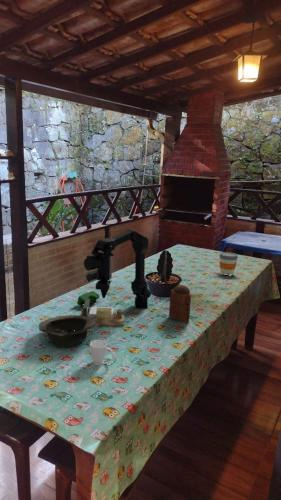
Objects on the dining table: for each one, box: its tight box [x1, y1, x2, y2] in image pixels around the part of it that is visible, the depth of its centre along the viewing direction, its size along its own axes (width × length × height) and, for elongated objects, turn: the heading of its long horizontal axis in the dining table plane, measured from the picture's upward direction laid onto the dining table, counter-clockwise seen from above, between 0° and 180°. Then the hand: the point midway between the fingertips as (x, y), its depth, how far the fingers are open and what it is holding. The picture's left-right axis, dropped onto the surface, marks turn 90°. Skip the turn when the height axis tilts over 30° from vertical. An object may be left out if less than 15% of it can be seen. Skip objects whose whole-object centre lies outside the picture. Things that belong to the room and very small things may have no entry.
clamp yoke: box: [82, 299, 91, 317], centre depth 178 cm, size 2×11×9 cm, turn 1°
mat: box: [89, 306, 115, 314], centre depth 191 cm, size 12×9×1 cm
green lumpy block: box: [76, 290, 100, 307], centre depth 199 cm, size 12×6×9 cm, turn 138°
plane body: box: [79, 309, 125, 326], centre depth 178 cm, size 22×7×6 cm, turn 91°
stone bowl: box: [38, 314, 97, 349], centre depth 161 cm, size 25×25×9 cm
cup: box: [89, 339, 115, 366], centre depth 142 cm, size 7×10×8 cm
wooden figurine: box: [168, 284, 192, 323], centre depth 184 cm, size 12×6×18 cm, turn 61°
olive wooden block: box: [96, 307, 112, 319], centre depth 178 cm, size 7×4×4 cm, turn 91°
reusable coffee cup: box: [218, 251, 238, 275], centre depth 261 cm, size 13×13×15 cm
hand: (103, 297), depth 176 cm, fingers closed
